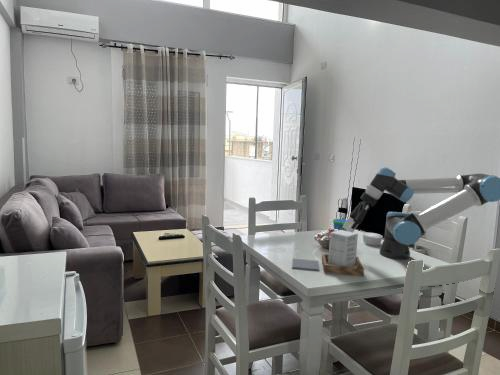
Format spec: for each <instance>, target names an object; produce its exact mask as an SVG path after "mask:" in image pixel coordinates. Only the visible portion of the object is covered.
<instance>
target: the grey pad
mask: <svg viewBox="0 0 500 375" xmlns="http://www.w3.org/2000/svg"><path fill="white" fill-rule="evenodd" d="M291 265H292V269H293V270H294V269H295V270H305V271H315V272H319V271H320V266H319V261H318V260H312V259H302V258H301V259H300V258H292V264H291Z"/></svg>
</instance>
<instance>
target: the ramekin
mask: <svg viewBox="0 0 500 375" xmlns="http://www.w3.org/2000/svg"><path fill="white" fill-rule="evenodd" d="M383 237H384V236H383V235H381V234H379V233H375V232H363V233H362V241H363V243H364V245H368V246H373V245H378V246H380V245H382V242H383V241H382V240H383V239H384V238H383Z"/></svg>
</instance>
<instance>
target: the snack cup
mask: <svg viewBox="0 0 500 375" xmlns="http://www.w3.org/2000/svg"><path fill="white" fill-rule="evenodd" d="M347 220H348V219H345V218H334V219H333V220H332V223H333V230H334V229H338V230H344V231H347V230H348V229H347V230H346V229H345V228H343V225H344V224H345V222H346V221H347Z"/></svg>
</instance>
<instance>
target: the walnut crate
mask: <svg viewBox="0 0 500 375" xmlns="http://www.w3.org/2000/svg"><path fill="white" fill-rule="evenodd" d="M328 257H329V253H321V264H322V269H323V273H325V274H333V275H335V274H336V275H344V276H345V275H346V276H355V277H356V276H357V277H364V272H365V268H364V265H363V264H362V262H361V260H360V257H358V256H356V263H355V267H348V266H337V265H328Z"/></svg>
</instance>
